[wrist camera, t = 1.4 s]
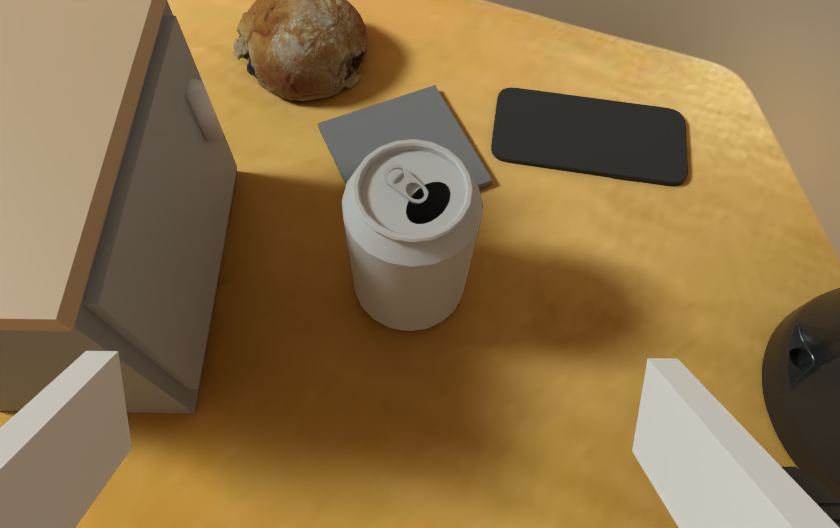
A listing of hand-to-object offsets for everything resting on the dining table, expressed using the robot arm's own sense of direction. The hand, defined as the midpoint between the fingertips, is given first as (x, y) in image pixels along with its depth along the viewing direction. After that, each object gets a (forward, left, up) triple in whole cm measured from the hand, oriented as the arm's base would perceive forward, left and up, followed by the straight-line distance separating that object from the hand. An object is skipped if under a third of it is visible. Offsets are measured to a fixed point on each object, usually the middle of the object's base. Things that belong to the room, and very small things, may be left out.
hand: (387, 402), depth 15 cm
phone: (-25, -18, -23) cm, 38 cm away
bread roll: (-7, -34, -22) cm, 41 cm away
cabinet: (+11, -20, -22) cm, 32 cm away
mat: (-10, -22, -22) cm, 33 cm away
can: (-6, -12, -22) cm, 26 cm away
